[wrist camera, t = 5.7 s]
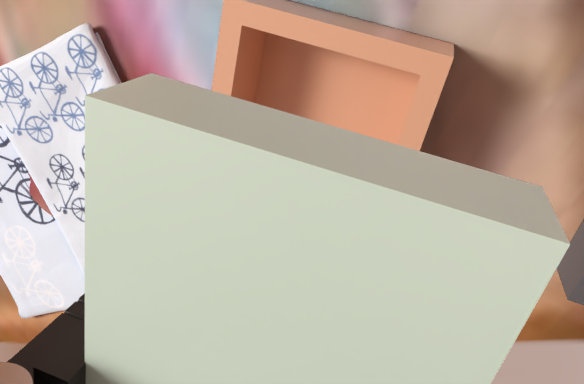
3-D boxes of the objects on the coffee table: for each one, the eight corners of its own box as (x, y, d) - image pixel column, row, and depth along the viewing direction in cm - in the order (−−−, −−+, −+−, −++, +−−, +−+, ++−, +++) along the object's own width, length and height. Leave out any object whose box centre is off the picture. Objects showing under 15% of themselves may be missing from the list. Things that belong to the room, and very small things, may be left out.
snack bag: (223, 285, 34) (209, 303, 32) (30, 311, 42) (10, 326, 40) (106, 16, 28) (81, 19, 26) (-92, 105, 36) (-122, 112, 34)
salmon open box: (454, 43, 23) (454, 57, 19) (390, 219, 27) (379, 259, 23) (260, -8, 24) (224, -5, 20) (231, 165, 29) (197, 194, 25)
